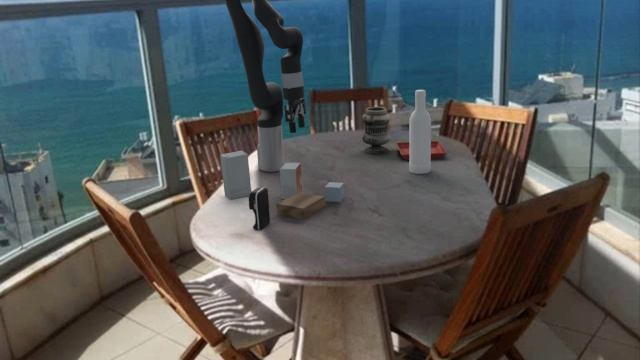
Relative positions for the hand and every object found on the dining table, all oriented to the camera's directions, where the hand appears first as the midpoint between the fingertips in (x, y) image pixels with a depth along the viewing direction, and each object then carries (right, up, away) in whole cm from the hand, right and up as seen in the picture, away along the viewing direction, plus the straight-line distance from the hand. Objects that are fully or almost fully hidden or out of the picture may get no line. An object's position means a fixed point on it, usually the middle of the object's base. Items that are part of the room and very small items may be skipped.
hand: (297, 130), depth 219 cm
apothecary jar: (+32, -6, +36) cm, 48 cm away
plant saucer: (+49, -8, +28) cm, 57 cm away
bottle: (+45, -15, +5) cm, 48 cm away
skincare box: (-20, -24, -12) cm, 33 cm away
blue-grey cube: (+13, -24, -20) cm, 34 cm away
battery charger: (-10, -32, -40) cm, 52 cm away
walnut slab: (+2, -28, -29) cm, 41 cm away
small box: (-1, -23, -15) cm, 28 cm away
